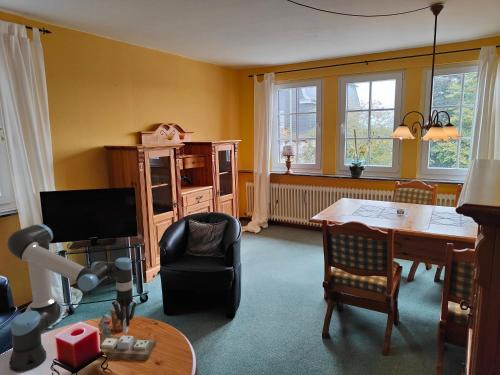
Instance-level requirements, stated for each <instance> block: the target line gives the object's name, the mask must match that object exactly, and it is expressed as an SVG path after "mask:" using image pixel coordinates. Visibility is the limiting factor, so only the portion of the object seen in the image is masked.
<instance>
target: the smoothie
mask: <svg viewBox="0 0 500 375" xmlns="http://www.w3.org/2000/svg"><path fill="white" fill-rule="evenodd" d="M118 305H119V304H118ZM119 309H120V305H119ZM110 315H111V328H112V330H113V331H114V332H115V333H119V332H123V326H121V320H118V319H117V316H116V312H115V309H114V306H113V305H112V304H111V306H110ZM125 319H126V313H125Z"/></svg>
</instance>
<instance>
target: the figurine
mask: <svg viewBox="0 0 500 375" xmlns="http://www.w3.org/2000/svg"><path fill="white" fill-rule="evenodd" d="M111 323H112V317H111V314H109V310H108V311H106V313H105V314H102V316H101V318H100V321H99V323H98V324H97V326H98V328H99V331H101V339H100V340H101V341H102V340H103V339H104V337H115V336H114V334H112V333H111V331H112V325H111Z"/></svg>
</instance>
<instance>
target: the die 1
mask: <svg viewBox="0 0 500 375" xmlns="http://www.w3.org/2000/svg"><path fill="white" fill-rule="evenodd" d="M117 342H118V339H112V338H106V339H105V341H104V342H103V343H102V344H101V348H109V349H113V348H114V347H115V346H116V344H117Z"/></svg>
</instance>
